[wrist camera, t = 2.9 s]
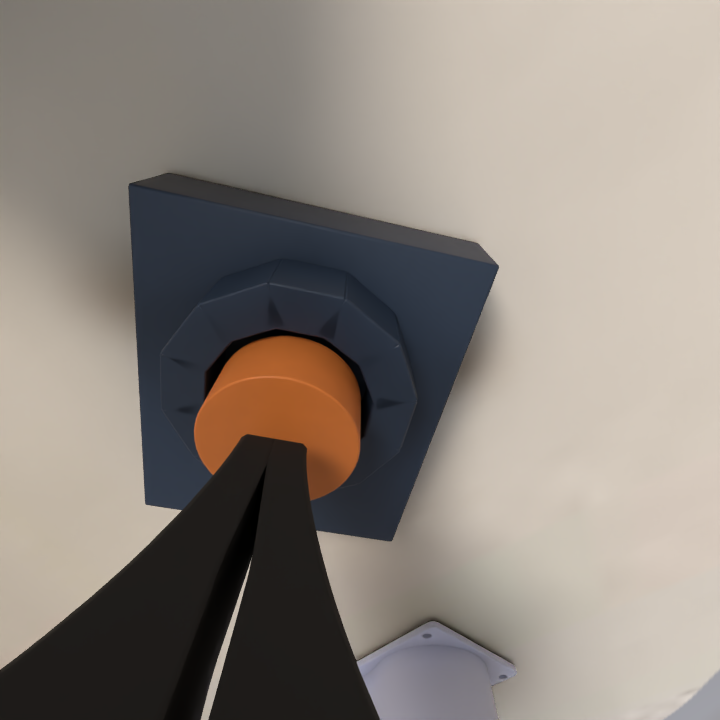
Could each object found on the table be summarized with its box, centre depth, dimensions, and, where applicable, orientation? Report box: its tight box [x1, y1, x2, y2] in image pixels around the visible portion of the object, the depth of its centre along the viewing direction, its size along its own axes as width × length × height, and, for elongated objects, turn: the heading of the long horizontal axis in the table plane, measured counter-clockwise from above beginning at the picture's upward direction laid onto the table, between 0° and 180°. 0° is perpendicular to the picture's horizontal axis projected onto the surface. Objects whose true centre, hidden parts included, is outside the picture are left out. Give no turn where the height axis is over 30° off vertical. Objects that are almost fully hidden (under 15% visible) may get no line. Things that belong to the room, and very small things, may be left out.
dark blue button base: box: [128, 173, 499, 541], centre depth 14 cm, size 12×10×4 cm
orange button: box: [194, 336, 361, 500], centre depth 11 cm, size 4×4×2 cm
